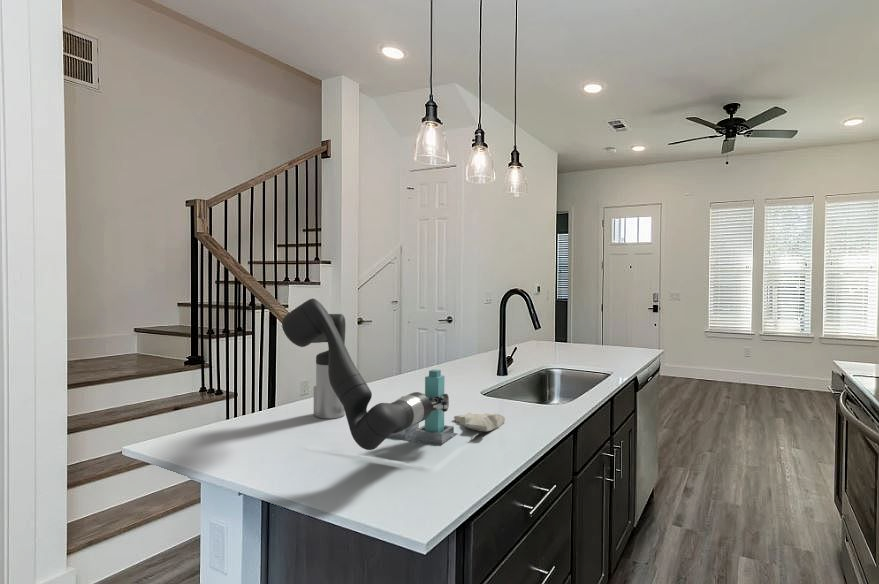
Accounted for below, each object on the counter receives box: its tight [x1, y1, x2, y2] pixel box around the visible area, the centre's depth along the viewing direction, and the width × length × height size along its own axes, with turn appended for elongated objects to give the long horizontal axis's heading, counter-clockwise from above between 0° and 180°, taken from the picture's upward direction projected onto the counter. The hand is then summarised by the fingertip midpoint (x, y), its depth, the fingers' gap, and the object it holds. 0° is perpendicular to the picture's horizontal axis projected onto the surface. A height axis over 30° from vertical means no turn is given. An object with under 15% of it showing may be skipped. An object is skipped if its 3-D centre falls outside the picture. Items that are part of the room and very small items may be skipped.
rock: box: [453, 412, 506, 432], centre depth 158 cm, size 21×5×15 cm
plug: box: [424, 369, 445, 433], centre depth 144 cm, size 4×4×17 cm
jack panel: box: [386, 423, 459, 447], centre depth 146 cm, size 20×12×4 cm, turn 65°
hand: (438, 396), depth 146 cm, fingers closed on plug, 4 cm apart
